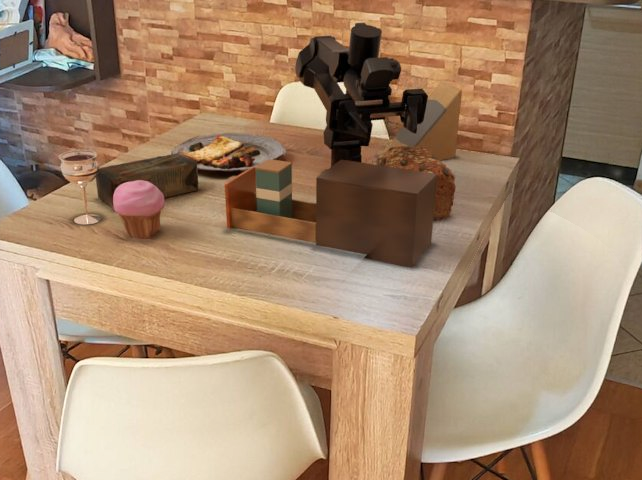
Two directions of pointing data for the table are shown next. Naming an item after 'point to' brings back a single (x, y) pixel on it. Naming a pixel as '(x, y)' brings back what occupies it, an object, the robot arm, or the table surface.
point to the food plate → (230, 151)
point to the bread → (425, 163)
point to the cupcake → (139, 207)
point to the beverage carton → (150, 176)
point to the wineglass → (81, 176)
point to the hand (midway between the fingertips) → (391, 133)
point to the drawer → (246, 216)
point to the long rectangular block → (274, 188)
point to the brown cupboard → (375, 211)
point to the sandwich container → (435, 124)
